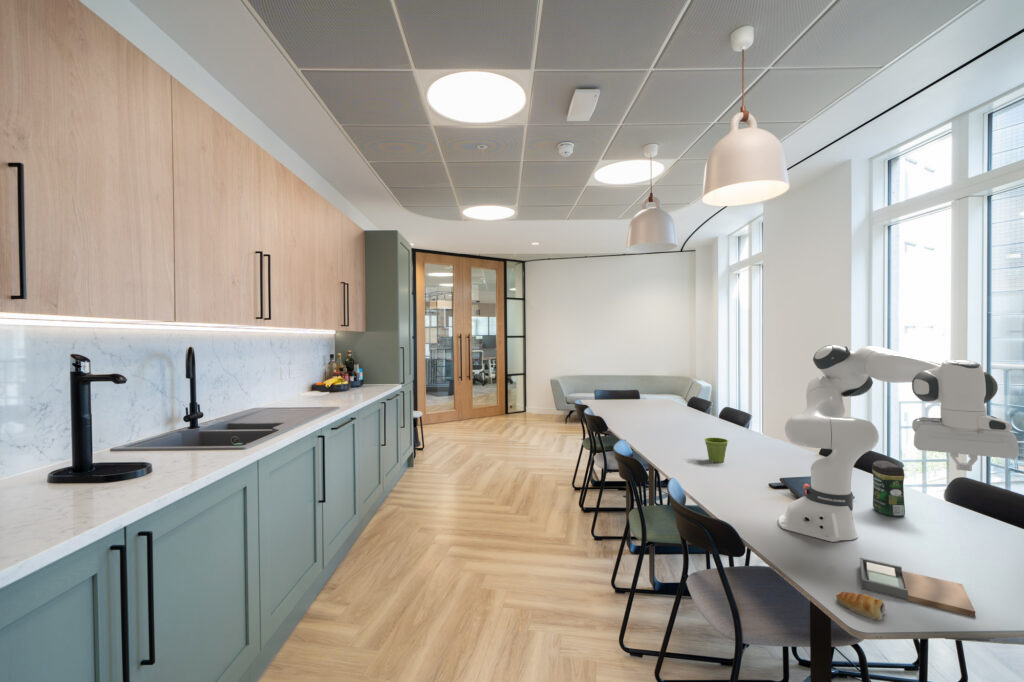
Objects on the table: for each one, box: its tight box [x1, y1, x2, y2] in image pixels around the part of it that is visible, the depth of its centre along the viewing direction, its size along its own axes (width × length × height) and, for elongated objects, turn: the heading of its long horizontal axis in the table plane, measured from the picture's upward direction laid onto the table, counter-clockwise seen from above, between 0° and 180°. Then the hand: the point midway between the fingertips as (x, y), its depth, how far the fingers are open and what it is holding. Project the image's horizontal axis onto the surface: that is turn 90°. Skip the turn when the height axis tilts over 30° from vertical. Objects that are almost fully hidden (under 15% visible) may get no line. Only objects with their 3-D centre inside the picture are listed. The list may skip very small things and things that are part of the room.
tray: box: [859, 557, 908, 601], centre depth 121 cm, size 9×14×2 cm, turn 144°
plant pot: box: [703, 436, 730, 464], centre depth 237 cm, size 12×12×11 cm
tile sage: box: [868, 572, 899, 587], centre depth 119 cm, size 6×5×2 cm
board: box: [902, 570, 976, 618], centre depth 115 cm, size 12×14×1 cm
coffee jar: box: [871, 460, 906, 518], centre depth 166 cm, size 10×8×19 cm
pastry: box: [835, 591, 887, 621], centre depth 110 cm, size 9×7×4 cm
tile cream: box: [867, 562, 896, 578], centre depth 124 cm, size 6×5×2 cm
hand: (963, 470), depth 123 cm, fingers closed
